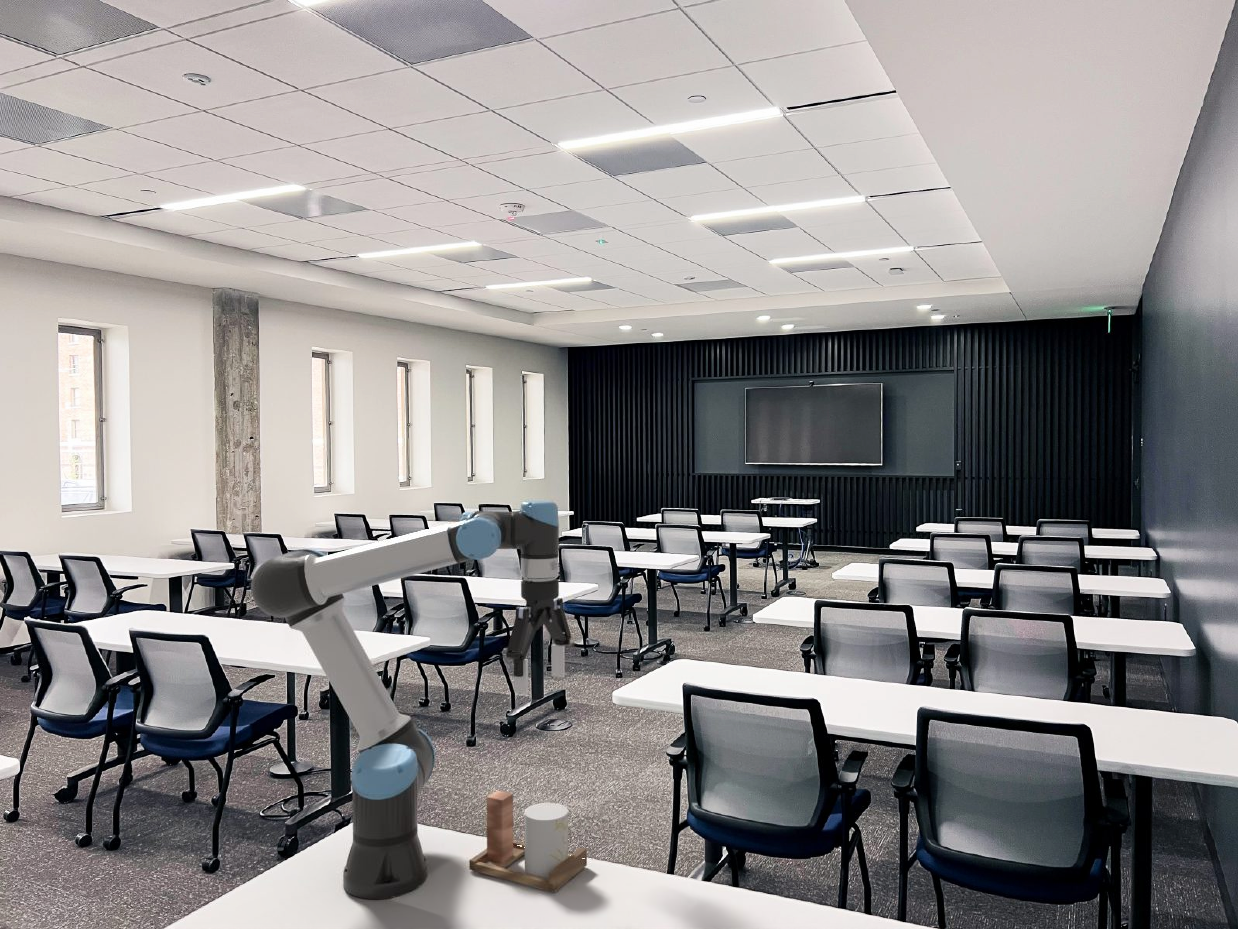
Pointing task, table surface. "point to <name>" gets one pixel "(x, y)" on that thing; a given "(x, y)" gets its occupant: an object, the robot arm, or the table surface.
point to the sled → (517, 849)
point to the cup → (545, 838)
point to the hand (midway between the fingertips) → (540, 684)
